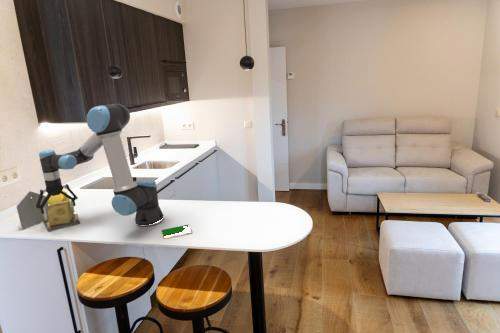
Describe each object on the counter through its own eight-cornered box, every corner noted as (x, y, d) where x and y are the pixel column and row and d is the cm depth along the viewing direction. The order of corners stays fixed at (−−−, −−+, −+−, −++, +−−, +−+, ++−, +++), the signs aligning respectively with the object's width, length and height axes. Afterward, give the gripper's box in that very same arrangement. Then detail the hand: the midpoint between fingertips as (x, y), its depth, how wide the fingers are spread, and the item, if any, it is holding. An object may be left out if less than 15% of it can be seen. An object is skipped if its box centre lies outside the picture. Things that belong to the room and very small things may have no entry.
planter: (43, 216, 202) (36, 185, 197) (51, 218, 198) (44, 186, 193) (14, 227, 188) (6, 194, 183) (22, 229, 184) (14, 196, 179)
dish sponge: (162, 234, 171) (161, 229, 171) (189, 228, 176) (188, 224, 175) (163, 240, 165) (163, 235, 164) (192, 234, 170) (191, 229, 169)
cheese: (49, 226, 184) (45, 209, 181) (53, 218, 194) (50, 202, 191) (70, 222, 187) (67, 205, 184) (73, 215, 197) (70, 199, 194)
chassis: (80, 223, 189) (78, 214, 187) (48, 232, 180) (46, 223, 178) (73, 214, 201) (72, 206, 200) (43, 222, 192) (41, 214, 191)
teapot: (77, 204, 219) (74, 188, 217) (61, 210, 210) (58, 193, 207) (59, 200, 227) (55, 185, 224) (43, 206, 218) (39, 190, 215)
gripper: (75, 172, 194) (82, 207, 199) (24, 182, 179) (33, 219, 185) (78, 175, 188) (85, 210, 194) (26, 185, 174) (35, 223, 179)
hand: (60, 215), depth 189 cm, fingers open, 13 cm apart
